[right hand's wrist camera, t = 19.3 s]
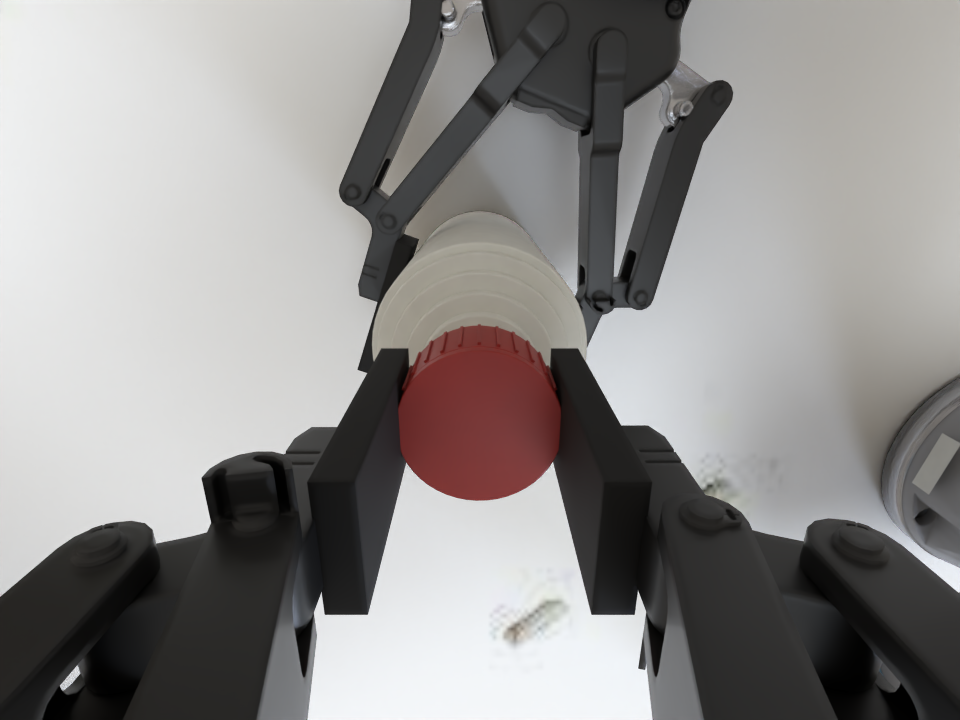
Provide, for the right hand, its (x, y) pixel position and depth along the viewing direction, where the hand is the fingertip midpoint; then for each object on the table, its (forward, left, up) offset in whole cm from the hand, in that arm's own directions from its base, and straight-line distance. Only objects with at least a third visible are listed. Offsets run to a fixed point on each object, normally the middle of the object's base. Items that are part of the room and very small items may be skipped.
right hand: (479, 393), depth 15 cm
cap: (0, 0, +2) cm, 2 cm away
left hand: (+1, -5, -11) cm, 12 cm away
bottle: (0, 0, -18) cm, 18 cm away
